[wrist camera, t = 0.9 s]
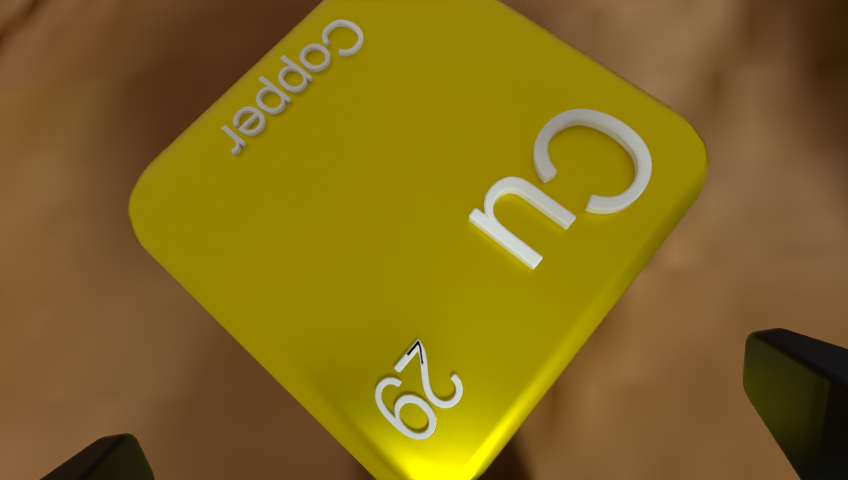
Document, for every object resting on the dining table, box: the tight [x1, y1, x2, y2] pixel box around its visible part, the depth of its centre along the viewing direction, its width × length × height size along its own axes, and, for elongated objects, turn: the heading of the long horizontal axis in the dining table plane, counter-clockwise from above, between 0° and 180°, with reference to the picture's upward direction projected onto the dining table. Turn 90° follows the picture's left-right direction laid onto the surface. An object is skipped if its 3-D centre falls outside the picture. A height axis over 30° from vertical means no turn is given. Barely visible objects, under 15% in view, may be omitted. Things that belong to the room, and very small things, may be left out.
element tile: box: [127, 0, 710, 480], centre depth 19 cm, size 15×15×5 cm
